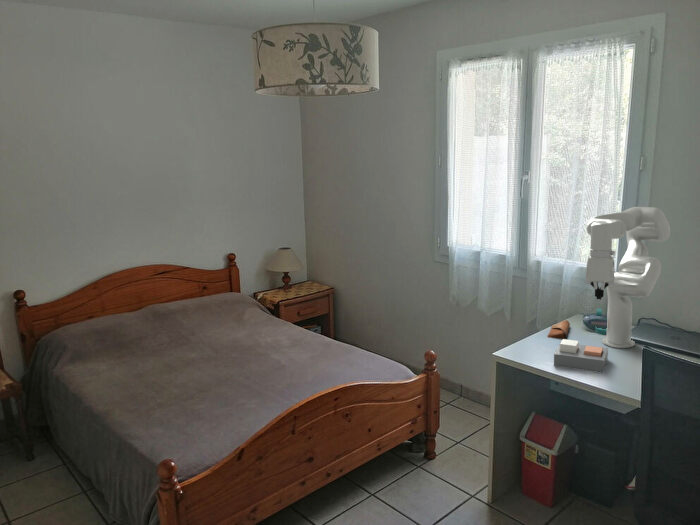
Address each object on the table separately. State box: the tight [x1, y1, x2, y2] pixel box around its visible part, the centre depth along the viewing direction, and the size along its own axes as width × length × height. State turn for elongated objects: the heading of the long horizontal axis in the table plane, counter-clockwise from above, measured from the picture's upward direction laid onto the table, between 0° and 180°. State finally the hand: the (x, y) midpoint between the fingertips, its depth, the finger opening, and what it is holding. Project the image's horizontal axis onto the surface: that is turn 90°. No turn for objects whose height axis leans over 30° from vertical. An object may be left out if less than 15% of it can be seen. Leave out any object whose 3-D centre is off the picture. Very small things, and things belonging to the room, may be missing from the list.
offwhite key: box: [559, 338, 580, 353], centre depth 217 cm, size 6×6×4 cm
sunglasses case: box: [546, 319, 571, 340], centre depth 251 cm, size 18×7×7 cm, turn 154°
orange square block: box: [584, 345, 604, 357], centre depth 213 cm, size 6×6×4 cm
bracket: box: [595, 307, 607, 336], centre depth 252 cm, size 18×7×8 cm, turn 154°
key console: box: [553, 343, 609, 374], centre depth 215 cm, size 14×18×5 cm
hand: (599, 298), depth 215 cm, fingers closed
